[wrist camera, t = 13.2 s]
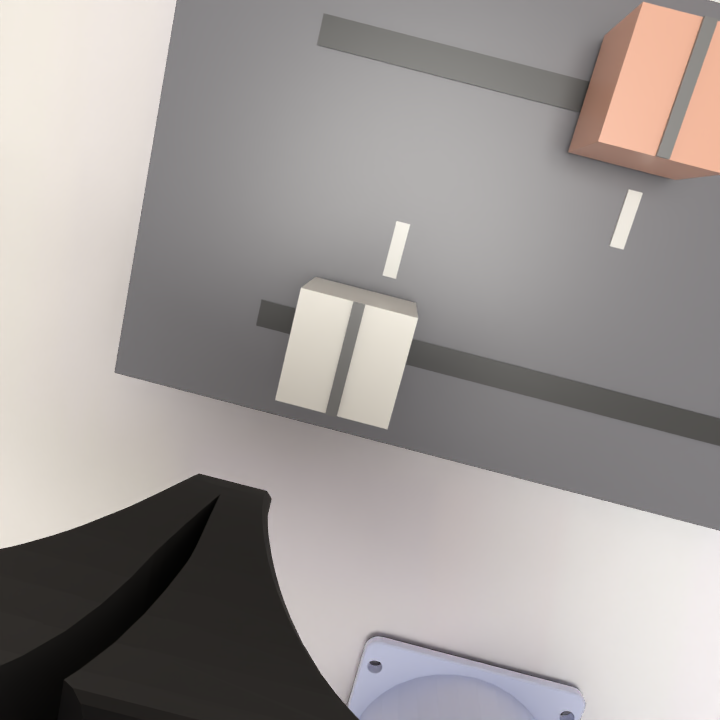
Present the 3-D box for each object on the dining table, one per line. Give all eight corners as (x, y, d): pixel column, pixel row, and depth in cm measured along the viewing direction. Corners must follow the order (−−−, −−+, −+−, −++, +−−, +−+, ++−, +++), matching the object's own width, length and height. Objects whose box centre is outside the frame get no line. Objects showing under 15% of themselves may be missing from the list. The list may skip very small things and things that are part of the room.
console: (893, 559, 22) (930, 586, 20) (133, 361, 22) (113, 372, 20) (1108, 125, 18) (1172, 117, 17) (214, -104, 18) (197, -132, 17)
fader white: (389, 398, 20) (387, 430, 17) (292, 373, 20) (274, 401, 17) (415, 302, 19) (418, 318, 16) (315, 276, 19) (300, 288, 16)
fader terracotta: (675, 179, 18) (727, 173, 15) (568, 152, 18) (599, 141, 15) (716, 64, 17) (779, 34, 14) (604, 35, 17) (644, 0, 14)
